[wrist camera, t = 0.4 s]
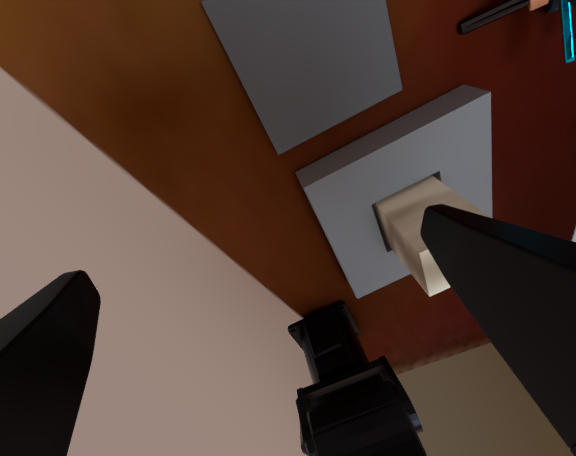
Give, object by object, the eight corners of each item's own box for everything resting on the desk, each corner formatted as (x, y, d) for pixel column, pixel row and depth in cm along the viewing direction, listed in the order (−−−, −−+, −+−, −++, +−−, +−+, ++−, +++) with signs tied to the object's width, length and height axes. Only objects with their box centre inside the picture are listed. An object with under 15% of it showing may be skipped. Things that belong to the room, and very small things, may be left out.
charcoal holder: (472, 219, 29) (492, 234, 27) (347, 279, 30) (357, 299, 28) (463, 84, 21) (490, 91, 19) (294, 172, 22) (303, 188, 20)
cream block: (423, 206, 26) (492, 267, 20) (376, 229, 27) (429, 296, 20) (415, 163, 24) (492, 218, 17) (363, 190, 24) (419, 253, 18)
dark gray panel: (397, 87, 20) (402, 89, 20) (276, 151, 21) (278, 155, 20) (362, -93, 15) (367, -96, 14) (201, 2, 16) (201, 2, 15)
